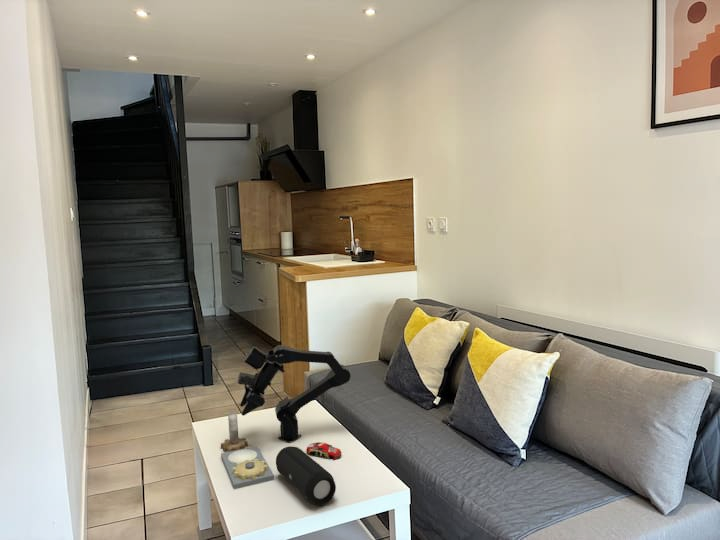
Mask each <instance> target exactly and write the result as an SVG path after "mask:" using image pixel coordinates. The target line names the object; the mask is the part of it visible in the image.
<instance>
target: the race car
mask: <svg viewBox="0 0 720 540" xmlns="http://www.w3.org/2000/svg"><path fill="white" fill-rule="evenodd" d="M305 453H306V454H307V455H308V456H311V455H312V456H311V457H318V458H322V457H323V458H324V459H329V460H330V459H334V460H337V459H339V458H341V457H342V451H341V449H340V448H338V447H335V446H332V444H329V443H326V442H311V443H310V444H309V443H308V445H307V447H306V450H305ZM323 458H322V459H323Z"/></svg>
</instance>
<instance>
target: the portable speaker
mask: <svg viewBox="0 0 720 540" xmlns="http://www.w3.org/2000/svg"><path fill="white" fill-rule="evenodd" d="M275 466H276V471H277V472H278V473H279V474H280V475H281V476H282V477H283V478H284V479H285V480H286V481H287V482H288V483H290V485H292V487H294V488H295V490H297V491H298V492H299V493H300V494H301V495H302V496H303V497H304V498H305V499H306V500H307V501H308V502H309V504H312V505H318V506H323V505H326V504H327V503H329V502H330V501H332V499H333V497H334V496H335V493H336V489H337V486H336V482H335V479H334V477H333V475H332V474H331V473H330V472H329V471H328V470H326V469H325V468H324V467H322V466H321V464H320V463H318V462H317V461H316V460H314V459H313V458H312V457H311V456H310V455H309V454H307V452H305V451H304V450H302V449H301V448H299V447H297V446H285V447H283V448H282V449H280V450H279V452H278V453H277V455H276V457H275Z"/></svg>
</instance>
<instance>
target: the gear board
mask: <svg viewBox="0 0 720 540" xmlns="http://www.w3.org/2000/svg"><path fill="white" fill-rule="evenodd" d="M220 457H221V461H222V463H223V466H224V468H225V470H226V473H227V475H228V477H229V479H230V482H231V484H232V487H233V489H234V490H236V489H240V488H245V487H249V486H253V485H257V484H261V483H265V482H270V481H274V480H275V474H274V473H273V471H272V469H271V467H270V466H269V464H268V462H267V460H266V458H265V457H264V455H263V454H262V451H261V450H260V448H259V447H258V445H255V446H250V447H245V448H244V449H240V450H235V451H230V452H228V451H227V452H221V453H220Z"/></svg>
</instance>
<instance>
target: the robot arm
mask: <svg viewBox="0 0 720 540" xmlns="http://www.w3.org/2000/svg"><path fill="white" fill-rule="evenodd" d="M244 356H245V357H244V358H243V361H242V362H243V363H244V364H246V365H248V366H249V367H252V369H255V370H259V372H255V374H252V373H251V374H250V373H245V372H239V374H238V378H237V384H238V385H243V386H244V394H243V396H242V399H241V402H240V405H239V406H240V407H241V408H243V409H242V411H241V416H245V415H248V414H249V413H251V412H253V411H255V409H257V408H260V407H263V406H264V404H265V403H266V400H265V396H264V395H265V393H266V390H267V388H268V386H271V385H272V381H273V379H274V378H275V377H276V375H277V374H278V372H279V371H280V372H281V373H285V368H284V367H285V366H284V364H291V363H294V362H301V363H302V362H303V363H305V362H306V363H314V364H315V363H317V364H326V365H327V366H329V368H330V371H329V372H328V373H327V375H326V376H325V377H324V378H323V379H321V380H319V381H318V382H317V383H315V384H313V385H312V386H310V387H308V388H307V389H305V391H302V392H301V393H300V394H298V395H296V396H295V397H293V398H289V397H288V396H285V397H284V398H283V399H281V400H278V403H277V404H276V406H275V407H274V412H275V415H276V419H277V421H279V423H280V425H279V426H280V436H278V440H281V441H284V442H287V443H292V442H293V441H296V440H298V439H299V438H301V437H302V435H301V434H300V433H299V423H298V422H299V420H298V418H297V415H296V414H297V413H298V412H299V411H300V410H301V408H303V407H305V406H306V405H308V404H309V403H311V402H313V401H314V400H315V399H317V398H318V397H320V396H322V395H323V394H324V393H326V392H327V391H329V390H331V389H333V388H336V387H340V386H343V385H346V384H347V383H348V382H350V381H351V380H350V379H351V372H350V371H349V369H348V368H347V366H345V365H344V364H341V363H339V361H338V360H337V359H336V357H335V356H334V355H333V353H332V352H331V351H318V350H317V351H316V350H306V349H305V350H303V349H296V348H292V347H291V346H287V345H283V344H278V345H276V346H275V347H274V348H273V349H271V350H268V351H265V352H263V351H261V350H260V349H259V348H258V347H256V346H253V347H252V348H251V349H250V350H249V351H248V352H246V354H245V355H244Z"/></svg>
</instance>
